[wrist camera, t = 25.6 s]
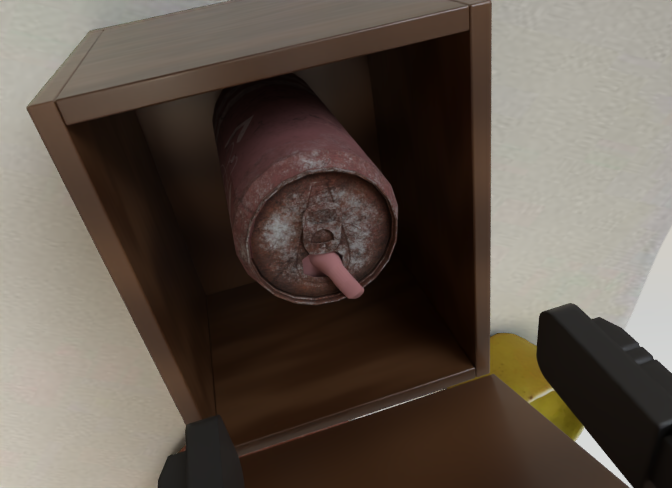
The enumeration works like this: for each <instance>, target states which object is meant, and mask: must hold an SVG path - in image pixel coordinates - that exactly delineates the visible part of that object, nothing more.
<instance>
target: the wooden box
mask: <svg viewBox="0 0 672 488" xmlns="http://www.w3.org/2000/svg"><path fill="white" fill-rule="evenodd" d="M491 11H492V3H491V0H231V1H227V2H222V3H217V4H213V5H208V6H203V7H199V8H194V9H189V10H185V11H180V12H176V13H171V14H166V15H162V16H157V17H152V18H148V19H143V20H138V21H134V22H129V23H124V24H120V25H115V26H110V27H106V28H101V29H96V30H92V31H89V32H88V33H87V35H86V36H85V37H84V39H83V40H82V41H81V42H80V43H79V45H78V46H77V47H76V48H75V49H74V51H73V52H72V53H71V54H70V55H69V57H68V58H67V59H66V60H65V61H64V63H63V64H62V65H61V66H60V67H59V69H58V70H57V71H56V72H55V74H54V75H53V76H52V77H51V78H50V80H49V81H48V82H47V83H46V84H45V86H44V87H43V88H42V89H41V90H40V92H39V93H38V94H37V95H36V96H35V98H34V99H33V100H32V101H31V102H30V104H29V105H28V106H27V111H28V113H29V115H30V117H31V118H32V120H33V122H34V124H35V126H36V128H37V130H38V132H39V134H40V136H41V138H42V140H43V142H44V144H45V146H46V148H47V150H48V152H49V154H50V156H51V158H52V160H53V162H54V164H55V166H56V168H57V170H58V172H59V174H60V176H61V178H62V180H63V182H64V184H65V186H66V188H67V190H68V192H69V194H70V196H71V198H72V200H73V202H74V204H75V206H76V208H77V210H78V212H79V214H80V216H81V218H82V220H83V222H84V224H85V226H86V228H87V230H88V232H89V234H90V236H91V238H92V240H93V242H94V244H95V246H96V248H97V250H98V252H99V254H100V256H101V258H102V260H103V262H104V264H105V265H106V267H107V269H108V271H109V273H110V275H111V277H112V279H113V281H114V283H115V285H116V287H117V289H118V291H119V293H120V295H121V297H122V299H123V301H124V303H125V305H126V307H127V309H128V311H129V313H130V315H131V317H132V319H133V321H134V323H135V325H136V327H137V329H138V331H139V333H140V335H141V337H142V339H143V341H144V343H145V345H146V347H147V349H148V351H149V353H150V355H151V357H152V359H153V361H154V363H155V365H156V367H157V369H158V371H159V373H160V375H161V377H162V379H163V381H164V383H165V385H166V387H167V389H168V391H169V393H170V395H171V397H172V399H173V401H174V403H175V405H176V407H177V409H178V410H179V412H180V414H181V416H182V418H183V420H184V422H185V424H186V425H187V424H190V423H193V422H196V421H199V420H202V419H205V418H208V417H211V416H215V415H218V414H219V415H220V416H221V418H222V420H223V422H224V424H225V427H226V429H227V431H228V433H229V436H230V438H231V440H232V442H233V445H234V447H235V449H236V451H237V454H238V457H239V456H242V455H245V454H248V453H251V452H254V451H257V450H260V449H263V448H266V447H269V446H272V445H275V444H278V443H281V442H284V441H287V440H290V439H293V438H296V437H299V436H302V435H305V434H308V433H311V432H314V431H317V430H321V429H324V428H327V427H330V426H333V425H336V424H339V423H342V422H345V421H348V420H351V419H354V418H357V417H360V416H363V415H366V414H369V413H372V412H375V411H378V410H381V409H384V408H387V407H390V406H393V405H396V404H399V403H402V402H405V401H408V400H411V399H414V398H417V397H420V396H423V395H426V394H429V393H432V392H435V391H438V390H441V389H444V388H447V387H450V386H453V385H456V384H459V383H462V382H465V381H468V380H471V379H474V378H475V376H476V377H480V376H483V375H486V374H489V373H490V238H491ZM288 73H293V74H295V75H297V76H298V77H300V78H301V79H303V80H304V81H305V82H306V83H307V84H308V85H309V87H310V88H311V89H312V90H313V91H314V93H315V94H316V95H317V96H318V97H319V99H320V100H321V101H322V102H323V103H324V105H325V106H326V107H327V108H328V109H329V111H330V112H331V113H332V114H333V115H334V117H335V118H336V119H337V120H338V121H339V123H340V124H341V125H342V126H343V127H344V129H345V130H346V131H347V132H348V133H349V135H350V136H351V137H352V138H353V139H354V140H355V142H356V143H357V144H358V145H359V146H360V148H361V149H362V150H363V151H364V152H365V154H366V155H367V156H368V157H369V158H370V160H371V161H372V162H373V163H374V164H375V166H376V167H377V168H378V169H379V170H380V172H381V173H382V174H383V175H384V177H385V178H386V179H387V180H388V182H389V183H390V184H391V186H392V189H393V192H394V195H395V198H396V202H397V205H398V219H397V220H398V221H397V241H396V244H395V246H394V249H393V252H392V254H391V257H390V260H389V261H388V263H387V264H386V265H385V267H384V268H383V269H382V271H381V272H380V273H379V275H378V276H377V277H376V278H375V279H374V280H373V281H371V282H370V283H369V284H368V285H366V286H365V287H364V292H363V294H362V295H361V296H360V297H358V298H356V299H348V298H347V297H346V298H344V299H341V300H339V301H335V302H330V303H324V304H319V305H310V304H297V303H292V302H290V301H287V300H285V299H282V298H279V297H277V296H274V295H273V294H272V293H271V292H270V291H268V290H267V289H265V288H264V287H263V286H262V285H260V284H259V283H258V282H257V281H256V280H254V279H253V278H252V277H251V276H250V275H248V274H247V272H246V270H245V268H244V267H243V265H242V263H241V261H240V260H239V258H238V256H237V255H236V250H235V244H234V239H233V233H232V228H231V222H230V217H229V212H228V206H227V201H226V195H225V190H224V184H223V179H222V174H221V168H220V163H219V157H218V152H217V146H216V141H215V135H214V129H213V123H212V119H213V113H214V108H215V103H216V101H217V99H218V98H219V96H220V94H221V92H222V90H223V89H225V88H229V87H233V86H238V85H242V84H246V83H250V82H255V81H259V80H263V79H267V78H271V77H276V76H280V75H284V74H288Z"/></svg>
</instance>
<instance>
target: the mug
mask: <svg viewBox="0 0 672 488" xmlns="http://www.w3.org/2000/svg"><path fill="white" fill-rule="evenodd" d="M536 352H537V346H536V345H533V344H531V343H530V342H528V341H527V340H526V339H523V338H521V337H519V336H517V335H514V334H510V333H497V334H495V335H493V336H491V337H490V373H489V374H486V375H483V376H480V377H476V376H475V378H474V379H471V380H468V381H465V382H462V383H459V384H456V385H453V386H450V387H447V388H446V389H449V388H452V387H455V386H458V385H461V384H464V383H467V382H470V381H473V380H476V379H479V378H482V377H485V376H488V375H491V374H495V375H496V376H497V377H498V378H499V379H501V380H502V381H503V382H504V383H505V384H507V385H508V386H509V387H510V388H511V389H512V390H514V391H515V392H516V393H517V394H518V395H520V396H521V397H522V398H523V399H524V400H526V401H527V402H528V403H529V404H530V405H532V406H533V407H534V408H535V409H536V410H538V411H539V412H540V413H541V414H542V415H544V416H545V417H546V418H547V419H548V420H549V421H551V422H552V423H553V424H554V425H555V426H557V427H558V428H559V429H560V430H561V431H563V432H564V433H565V434H566V435H567V436H569V437H570V438H571V439H572V440H573V441H576V440H577V438H578V437H579V435H580V434H581V432H582V431H583V429H584V426H583V425H582V424H581V422H580V421H579V420H578V419H577V417H576V416H575V415H574V414H573V412H572V411H571V410H570V409H569V408H568V406H567V405H566V404H565V403H564V401H563V400H562V399H561V398H560V396H559V395H558V394H557V393H556V392H555V390H554V389H553V388H552V387H551V385H550V384H549V383H548V382H547V380H546V379H545V378H544V376H543V374H542V373H541V371H540V368H539V366H538V362H537V357H536Z"/></svg>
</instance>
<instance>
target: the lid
mask: <svg viewBox="0 0 672 488" xmlns="http://www.w3.org/2000/svg"><path fill="white" fill-rule="evenodd" d="M239 460H240V463H241V467H242V472H243V477H244V485H245V488H629V487H628V486H627V485H626V484H625V483H623V482H622V481H621V480H620V479H619V478H617V477H616V476H615V475H614V474H613V473H612V472H610V471H609V470H608V469H607V468H605V467H604V466H603V465H602V464H601V463H600V462H598V461H597V460H596V459H595V458H594V457H592V456H591V455H590V454H589V453H588V452H586V451H585V450H584V449H583V448H582V447H580V446H579V445H578V444H577V443H576V442H575V441H573V440H572V439H571V438H570V437H569V436H567V435H566V434H565V433H564V432H563V431H561V430H560V429H559V428H558V427H557V426H555V425H554V424H553V423H552V422H551V421H549V420H548V419H547V418H546V417H545V416H544V415H542V414H541V413H540V412H539V411H538V410H536V409H535V408H534V407H533V406H532V405H530V404H529V403H528V402H527V401H526V400H524V399H523V398H522V397H521V396H520V395H518V394H517V393H516V392H515V391H514V390H512V389H511V388H510V387H509V386H508V385H507V384H505V383H504V382H503V381H502V380H501V379H499V378H498V377H497V376H496V375H495V374H491V375H488V376H485V377H482V378H479V379H476V380H473V381H470V382H467V383H464V384H461V385H458V386H455V387H452V388H449V389H446V390H443V391H440V392H437V393H434V394H431V395H428V396H425V397H422V398H419V399H416V400H413V401H410V402H407V403H404V404H401V405H398V406H395V407H392V408H389V409H386V410H383V411H380V412H377V413H374V414H371V415H368V416H365V417H362V418H359V419H356V420H353V421H350V422H347V423H344V424H341V425H338V426H335V427H332V428H329V429H325V430H322V431H319V432H316V433H313V434H310V435H307V436H304V437H301V438H298V439H295V440H292V441H289V442H286V443H283V444H280V445H277V446H274V447H271V448H268V449H265V450H262V451H259V452H256V453H253V454H250V455H247V456H244V457H241V458H239Z"/></svg>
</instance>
